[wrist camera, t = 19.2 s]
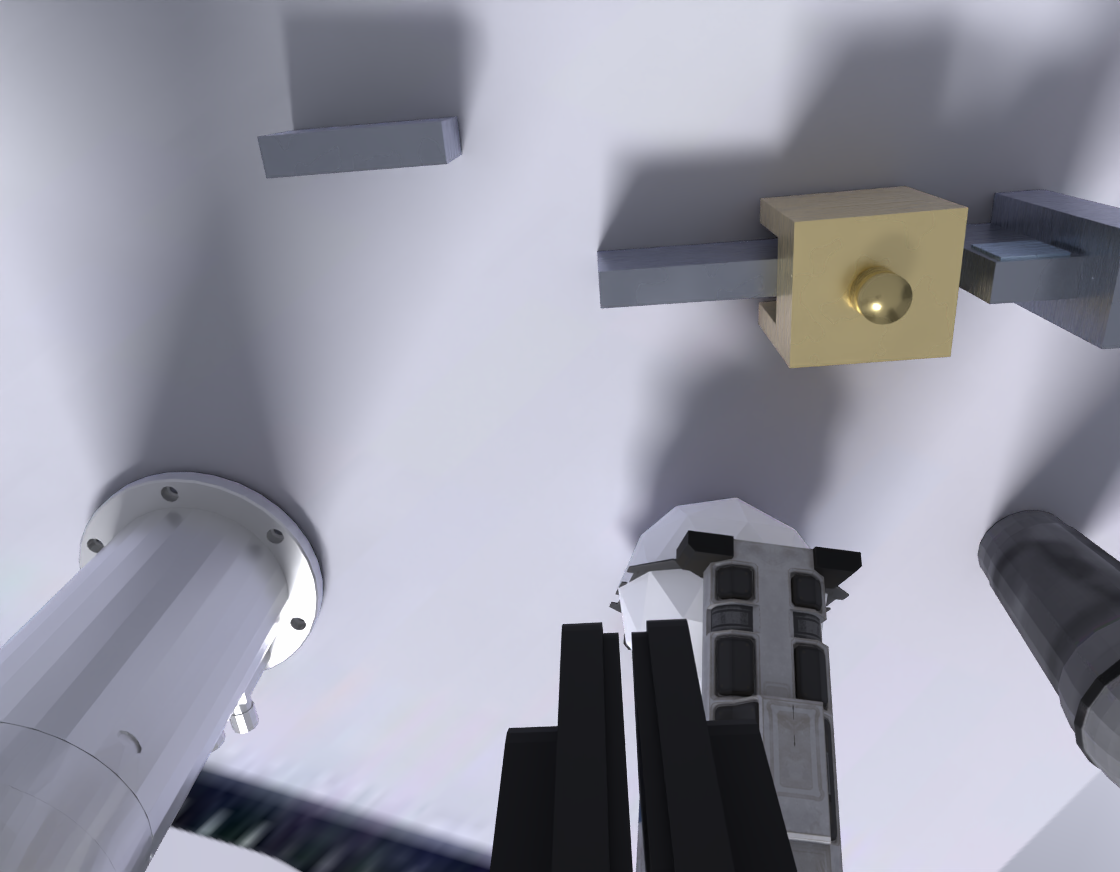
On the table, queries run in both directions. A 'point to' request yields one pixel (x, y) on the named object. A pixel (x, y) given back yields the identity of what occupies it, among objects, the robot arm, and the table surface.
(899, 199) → the tan box with knob
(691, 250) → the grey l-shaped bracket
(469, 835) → the table surface
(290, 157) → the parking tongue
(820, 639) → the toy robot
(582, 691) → the robot arm
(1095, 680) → the beverage cup
